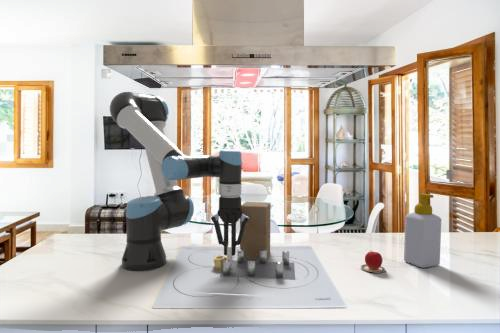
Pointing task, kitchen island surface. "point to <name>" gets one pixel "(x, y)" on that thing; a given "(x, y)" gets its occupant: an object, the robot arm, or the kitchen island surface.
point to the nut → (219, 261)
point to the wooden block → (256, 229)
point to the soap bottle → (422, 235)
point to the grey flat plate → (260, 270)
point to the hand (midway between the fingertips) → (229, 264)
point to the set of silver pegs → (252, 263)
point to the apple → (373, 263)
